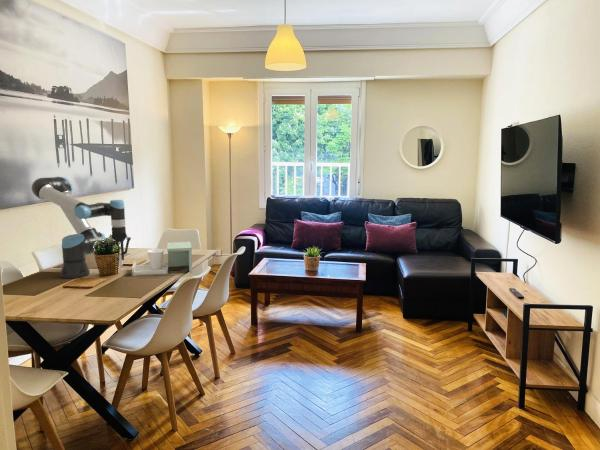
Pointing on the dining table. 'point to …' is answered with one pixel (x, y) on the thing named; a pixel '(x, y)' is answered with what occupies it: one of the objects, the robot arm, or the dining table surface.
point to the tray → (148, 269)
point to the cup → (155, 258)
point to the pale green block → (180, 254)
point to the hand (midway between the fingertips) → (121, 265)
